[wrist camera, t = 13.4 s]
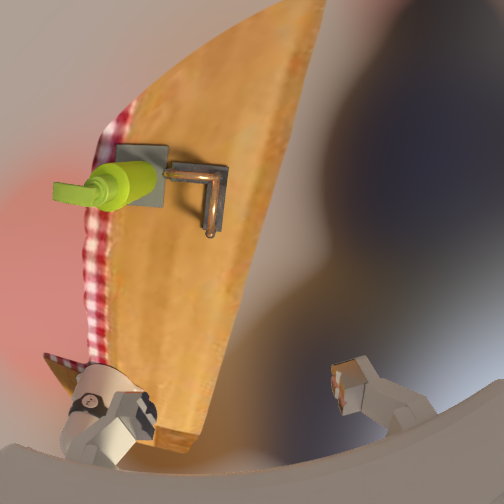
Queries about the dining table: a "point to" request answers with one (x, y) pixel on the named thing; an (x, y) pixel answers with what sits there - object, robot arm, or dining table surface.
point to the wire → (215, 189)
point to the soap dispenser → (110, 186)
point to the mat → (156, 158)
